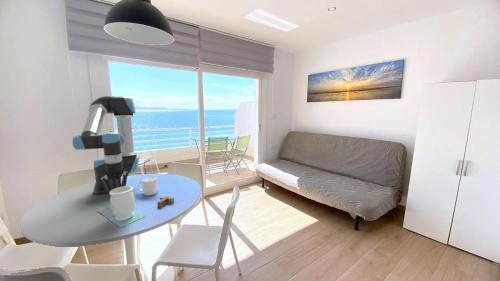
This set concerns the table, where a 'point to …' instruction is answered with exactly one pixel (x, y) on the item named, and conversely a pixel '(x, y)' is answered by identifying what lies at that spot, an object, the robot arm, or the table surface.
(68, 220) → the table surface
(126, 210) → the jar
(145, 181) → the mug
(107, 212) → the mat
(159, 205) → the t block
